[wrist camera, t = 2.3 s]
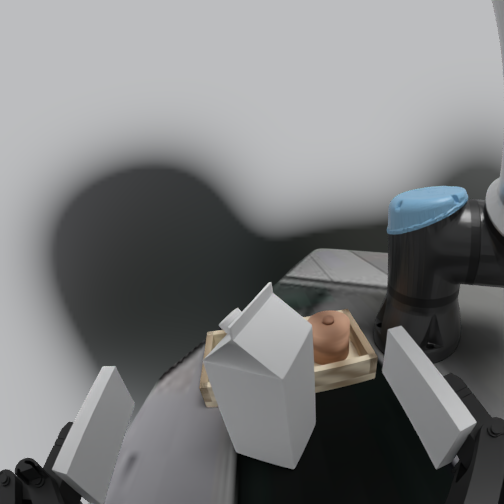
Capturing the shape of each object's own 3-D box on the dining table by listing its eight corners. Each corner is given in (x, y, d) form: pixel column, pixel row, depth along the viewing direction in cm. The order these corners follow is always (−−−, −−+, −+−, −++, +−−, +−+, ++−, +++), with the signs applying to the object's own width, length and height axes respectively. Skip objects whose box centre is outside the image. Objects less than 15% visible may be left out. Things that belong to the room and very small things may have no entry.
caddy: (347, 328, 47) (347, 291, 45) (374, 378, 35) (379, 336, 33) (212, 350, 47) (202, 314, 45) (207, 407, 35) (192, 369, 33)
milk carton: (316, 424, 30) (309, 284, 24) (294, 470, 24) (276, 335, 18) (262, 412, 33) (235, 279, 27) (235, 453, 28) (188, 319, 21)
